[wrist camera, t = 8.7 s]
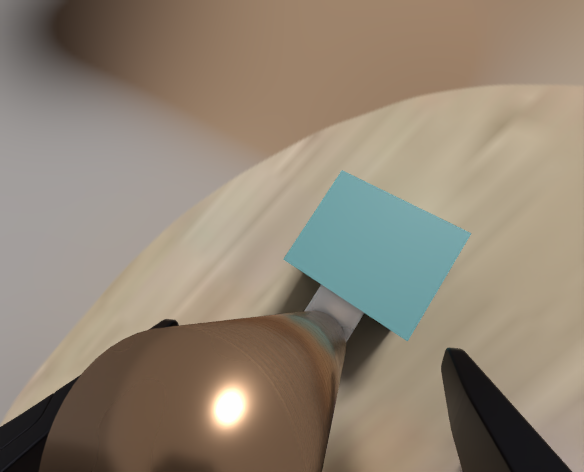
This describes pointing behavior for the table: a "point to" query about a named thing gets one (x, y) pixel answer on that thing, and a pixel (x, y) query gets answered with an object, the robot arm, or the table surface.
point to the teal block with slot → (377, 252)
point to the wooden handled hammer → (209, 396)
